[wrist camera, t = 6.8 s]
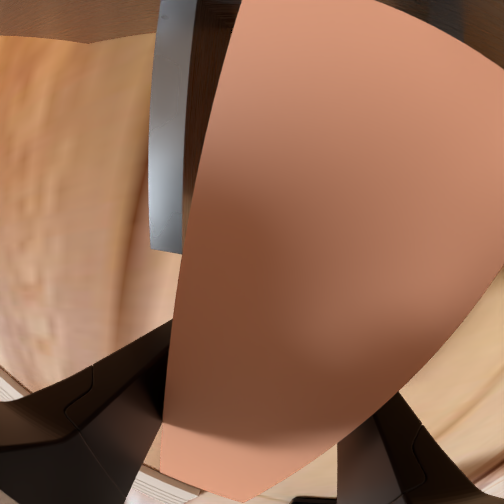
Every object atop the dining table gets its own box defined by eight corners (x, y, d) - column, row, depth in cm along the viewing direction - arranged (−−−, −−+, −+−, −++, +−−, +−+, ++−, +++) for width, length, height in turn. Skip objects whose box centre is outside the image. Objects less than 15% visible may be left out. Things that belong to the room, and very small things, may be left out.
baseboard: (172, 501, 31) (202, 484, 25) (166, 517, 28) (195, 506, 23) (-14, 380, 29) (-31, 330, 24) (-25, 393, 26) (-46, 344, 21)
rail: (265, 435, 14) (243, 502, 11) (191, 407, 14) (159, 471, 11) (463, 98, 5) (569, 126, 2) (300, 28, 6) (252, -31, 2)
